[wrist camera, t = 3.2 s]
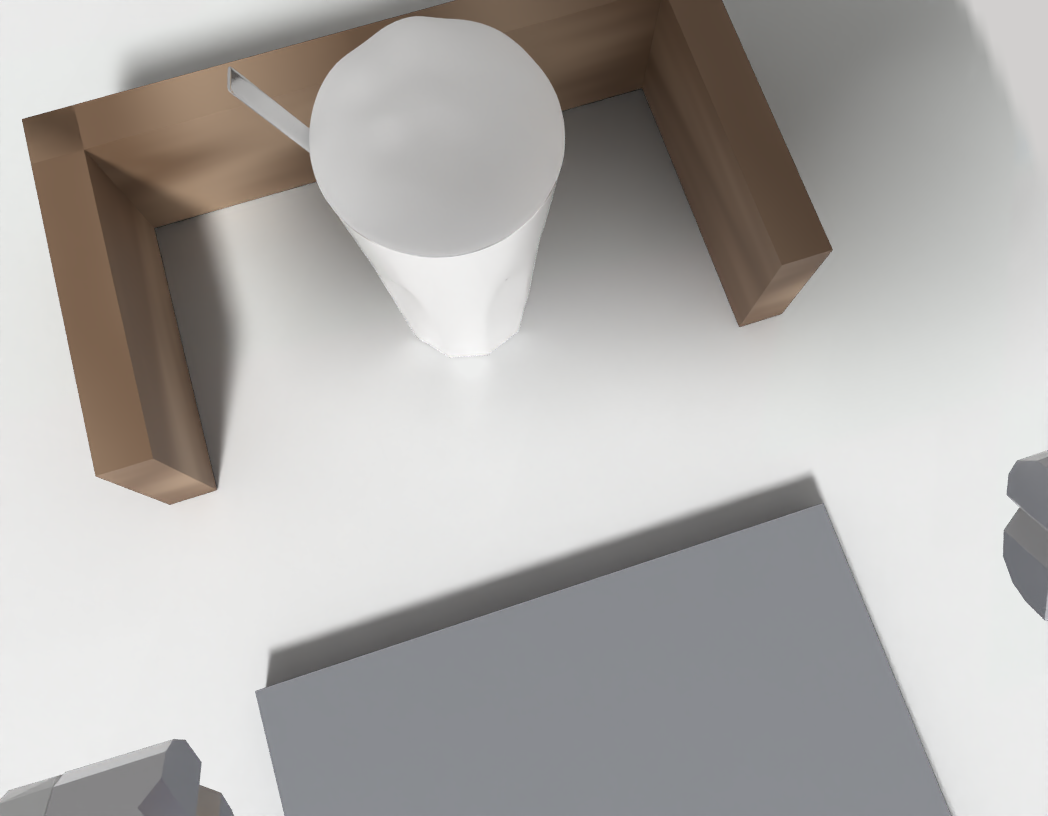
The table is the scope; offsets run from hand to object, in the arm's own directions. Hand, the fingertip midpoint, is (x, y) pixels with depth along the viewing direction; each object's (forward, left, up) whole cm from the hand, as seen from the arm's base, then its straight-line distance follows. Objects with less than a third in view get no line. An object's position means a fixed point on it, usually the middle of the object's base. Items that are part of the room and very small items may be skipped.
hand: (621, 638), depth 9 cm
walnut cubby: (0, +10, -13) cm, 17 cm away
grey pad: (0, -5, -13) cm, 14 cm away
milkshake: (0, +9, -14) cm, 16 cm away
